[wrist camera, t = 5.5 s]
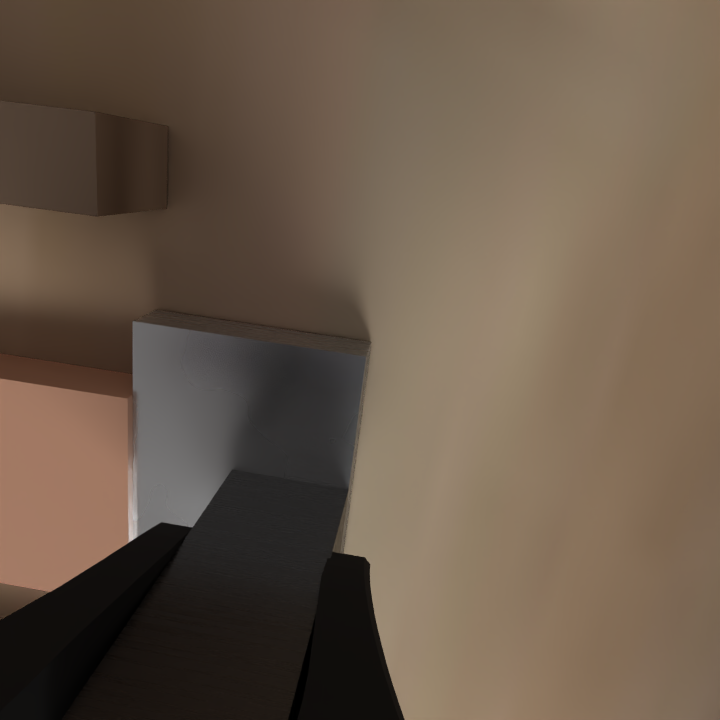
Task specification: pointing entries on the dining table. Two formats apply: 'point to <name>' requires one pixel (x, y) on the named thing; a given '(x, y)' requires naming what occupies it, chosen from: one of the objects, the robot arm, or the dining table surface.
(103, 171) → the frame
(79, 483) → the salmon pink panel
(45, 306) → the dining table surface
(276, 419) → the grey block
